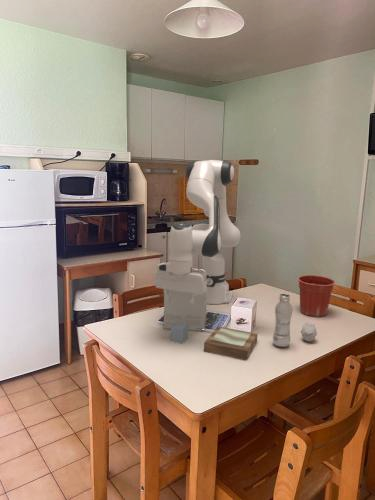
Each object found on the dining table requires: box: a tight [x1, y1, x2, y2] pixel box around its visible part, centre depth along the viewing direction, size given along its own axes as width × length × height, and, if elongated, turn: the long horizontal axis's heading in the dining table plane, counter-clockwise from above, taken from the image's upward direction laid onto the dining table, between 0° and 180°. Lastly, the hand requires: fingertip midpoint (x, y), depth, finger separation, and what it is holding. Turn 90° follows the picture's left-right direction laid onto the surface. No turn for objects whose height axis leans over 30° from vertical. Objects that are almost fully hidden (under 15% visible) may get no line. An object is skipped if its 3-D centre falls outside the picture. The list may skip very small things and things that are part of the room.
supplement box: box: [163, 284, 207, 332], centre depth 161 cm, size 17×13×18 cm
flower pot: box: [297, 274, 336, 318], centre depth 177 cm, size 16×16×16 cm
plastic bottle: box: [272, 293, 294, 348], centre depth 142 cm, size 6×7×20 cm
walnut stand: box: [203, 326, 259, 361], centre depth 142 cm, size 16×16×4 cm
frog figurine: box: [300, 322, 318, 342], centre depth 148 cm, size 6×7×7 cm
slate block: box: [170, 322, 189, 344], centre depth 147 cm, size 5×5×6 cm
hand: (179, 301), depth 144 cm, fingers open, 8 cm apart
